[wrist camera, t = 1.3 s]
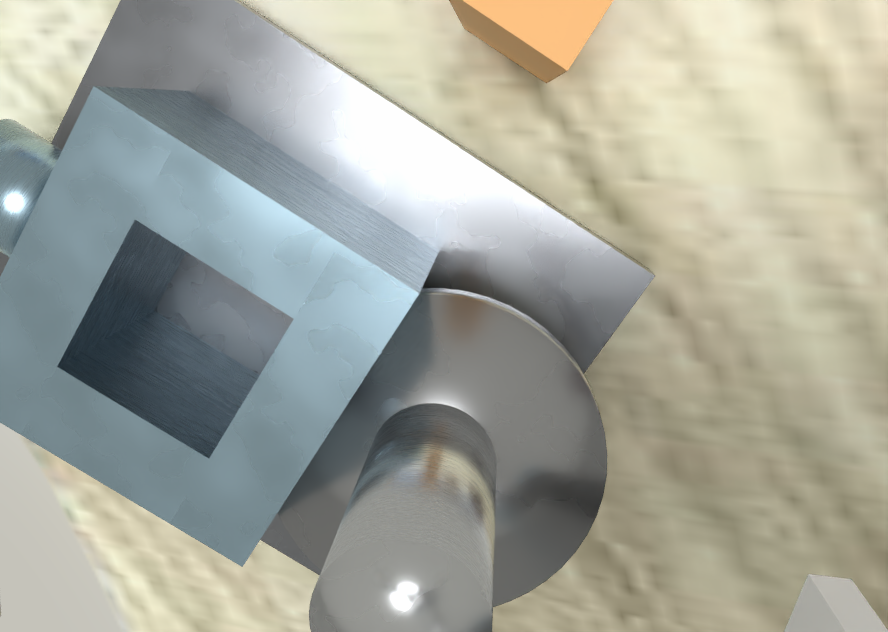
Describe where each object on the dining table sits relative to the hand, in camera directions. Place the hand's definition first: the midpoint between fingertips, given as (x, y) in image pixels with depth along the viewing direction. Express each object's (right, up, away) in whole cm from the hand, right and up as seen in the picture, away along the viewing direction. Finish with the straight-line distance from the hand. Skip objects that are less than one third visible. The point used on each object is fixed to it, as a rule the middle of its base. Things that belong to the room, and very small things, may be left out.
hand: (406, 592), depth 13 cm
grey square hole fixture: (-5, +4, +23) cm, 24 cm away
